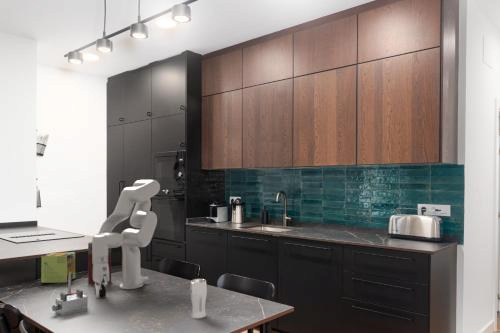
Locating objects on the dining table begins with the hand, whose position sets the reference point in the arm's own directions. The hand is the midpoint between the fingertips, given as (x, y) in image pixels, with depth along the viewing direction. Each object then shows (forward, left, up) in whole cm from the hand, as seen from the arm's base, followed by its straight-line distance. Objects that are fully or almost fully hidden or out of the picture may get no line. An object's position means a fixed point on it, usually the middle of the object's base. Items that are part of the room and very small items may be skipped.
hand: (100, 295), depth 195 cm
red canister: (-11, -28, -1) cm, 30 cm away
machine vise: (+19, +11, -1) cm, 22 cm away
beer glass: (-17, +59, -1) cm, 61 cm away
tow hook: (+9, -11, -1) cm, 14 cm away
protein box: (+3, -51, -1) cm, 51 cm away
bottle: (0, 0, -1) cm, 1 cm away
